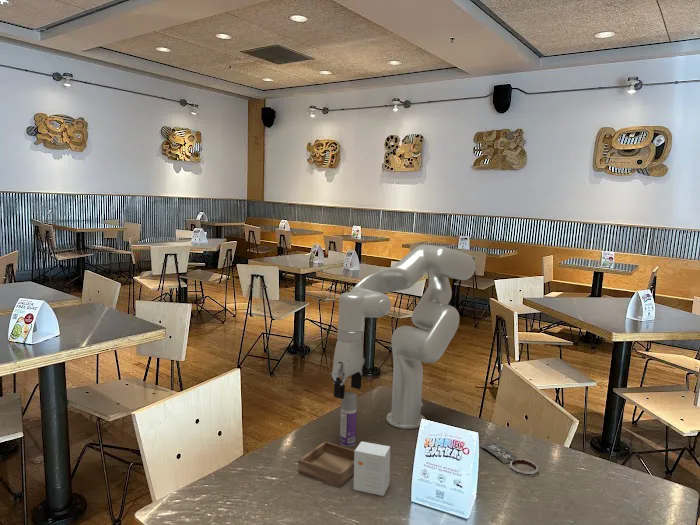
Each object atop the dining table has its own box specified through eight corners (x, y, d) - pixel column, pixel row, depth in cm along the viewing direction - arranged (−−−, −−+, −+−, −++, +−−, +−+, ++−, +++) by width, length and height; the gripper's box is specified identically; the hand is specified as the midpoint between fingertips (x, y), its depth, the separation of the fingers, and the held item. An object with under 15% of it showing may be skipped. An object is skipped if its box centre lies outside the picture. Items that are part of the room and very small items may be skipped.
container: (356, 440, 156) (357, 392, 154) (354, 447, 152) (356, 398, 150) (340, 439, 157) (342, 391, 155) (338, 446, 152) (340, 397, 150)
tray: (324, 452, 148) (325, 440, 148) (365, 465, 142) (365, 453, 141) (298, 472, 137) (298, 460, 136) (340, 487, 130) (340, 474, 130)
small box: (389, 485, 132) (391, 446, 131) (383, 497, 127) (385, 456, 126) (359, 478, 135) (361, 440, 133) (352, 490, 130) (354, 450, 128)
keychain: (496, 444, 158) (496, 437, 157) (544, 474, 140) (545, 467, 140) (476, 448, 154) (476, 442, 154) (523, 481, 137) (523, 474, 137)
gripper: (354, 328, 159) (351, 382, 161) (323, 339, 144) (320, 398, 146) (375, 332, 155) (372, 387, 157) (346, 343, 141) (343, 404, 142)
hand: (347, 392), depth 152 cm, fingers open, 9 cm apart
